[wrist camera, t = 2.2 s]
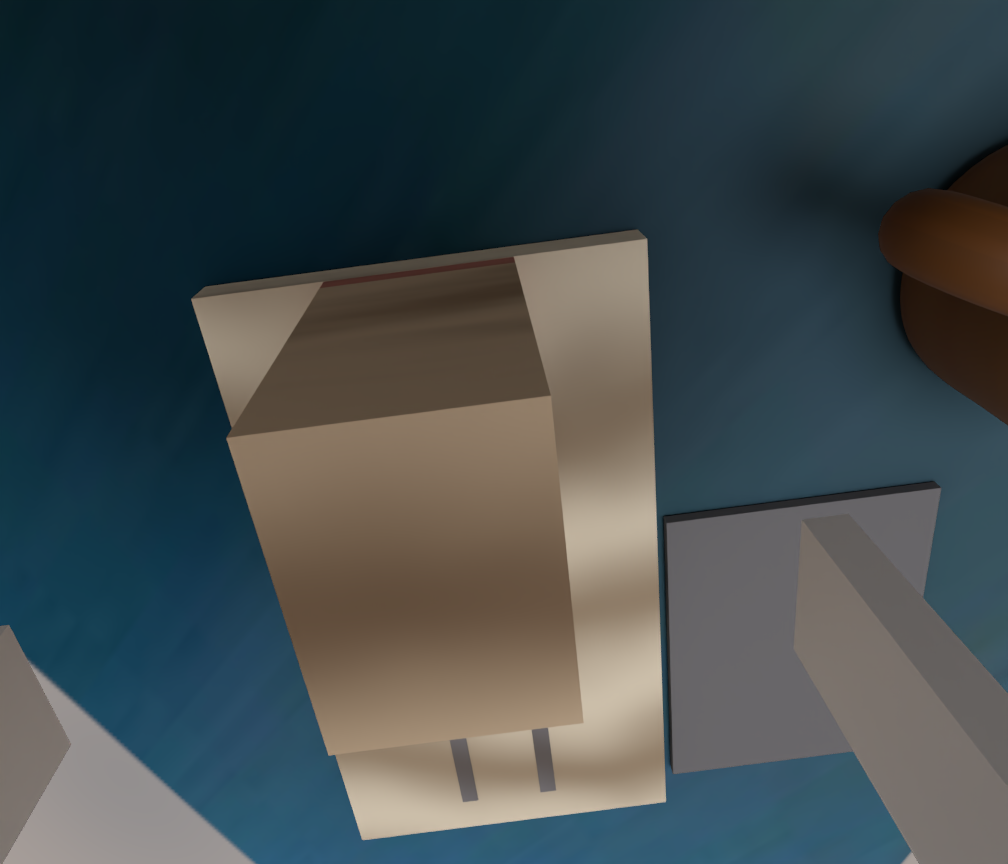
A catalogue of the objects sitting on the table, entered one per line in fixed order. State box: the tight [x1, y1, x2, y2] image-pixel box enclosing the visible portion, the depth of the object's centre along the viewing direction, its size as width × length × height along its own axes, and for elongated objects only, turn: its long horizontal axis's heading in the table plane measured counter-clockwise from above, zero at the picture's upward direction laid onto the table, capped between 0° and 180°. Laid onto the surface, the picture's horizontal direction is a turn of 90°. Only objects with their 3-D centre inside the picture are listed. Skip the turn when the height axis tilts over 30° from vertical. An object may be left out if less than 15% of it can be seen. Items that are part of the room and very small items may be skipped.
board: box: [191, 230, 666, 840], centre depth 25 cm, size 22×12×1 cm, turn 7°
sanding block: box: [226, 257, 584, 755], centre depth 17 cm, size 7×5×9 cm
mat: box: [664, 482, 941, 774], centre depth 27 cm, size 12×9×1 cm
